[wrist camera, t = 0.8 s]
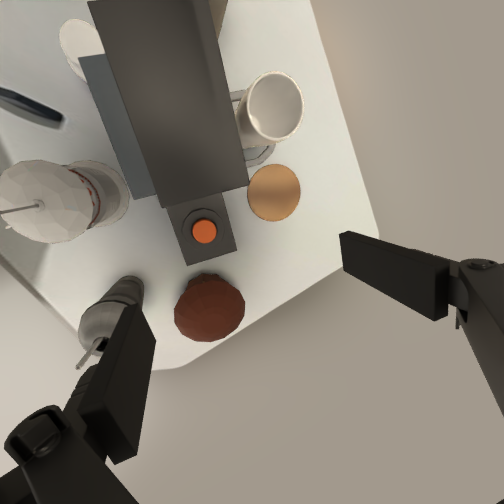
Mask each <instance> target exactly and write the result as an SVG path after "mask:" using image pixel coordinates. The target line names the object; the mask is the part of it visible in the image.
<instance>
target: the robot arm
mask: <svg viewBox="0 0 504 504" xmlns="http://www.w3.org/2000/svg"><path fill="white" fill-rule="evenodd" d="M339 238H340V246H341V254H342V262H343V269H344V271H345V272H347V273H349V274H350V275H352V276H354V277H356V278H357V279H359V280H361V281H363V282H365V283H366V284H368V285H370V286H372V287H374V288H375V289H377V290H379V291H381V292H383V293H384V294H386V295H388V296H390V297H391V298H393V299H395V300H397V301H398V302H400V303H402V304H404V305H406V306H407V307H409V308H411V309H413V310H415V311H416V312H418V313H420V314H422V315H423V316H425V317H427V318H429V319H431V320H432V321H437V320H439V319H441V318H444V317H446V316H448V304H450V305H453V306H455V307H457V309H456V329H459V326H460V325H461V326H462V328H463V330H464V332H465V335H466V337H467V339H468V341H469V343H470V345H471V347H472V350H473V352H474V354H475V356H476V358H477V360H478V363H479V365H480V367H481V369H482V371H483V373H484V375H485V378H486V380H487V382H488V384H489V386H490V388H491V390H492V393H493V395H494V397H495V399H496V401H497V403H498V406H499V408H500V410H501V412H502V414H503V416H504V263H503V264H498V263H497V262H494V261H491V260H486V259H466V260H463V261H461V262H457V261H453V260H450V259H446V258H443V257H440V256H436V255H433V254H430V253H425V252H423V251H419V250H416V249H408V248H405V247H402V246H398V245H395V244H392V243H388V242H385V241H382V240H378V239H375V238H372V237H368V236H365V235H362V234H358V233H355V232H352V231H346V232H344V233H341V234H339ZM155 344H156V339H155V337H154V335H153V333H152V331H151V329H150V327H149V325H148V322H147V320H146V318H145V316H144V314H143V312H142V310H141V308H140V305H139V303H135V304H132V305H129V306H127V307H124V309H123V311H122V313H121V315H120V318H119V320H118V322H117V324H116V326H115V328H114V331H113V333H112V335H111V337H110V339H109V341H108V343H107V346H106V348H105V350H104V352H103V354H102V356H101V359H100V361H99V363H98V364H95V365H93V366H90V367H89V368H88V369H87V370H86V372H85V373H84V374H83V375H82V376H81V377H80V379H79V381H78V383H77V385H76V387H75V390H74V391H73V392H72V395H71V398H70V399H69V400H68V402H67V404H66V406H65V408H64V410H63V412H62V411H61V409H60V408H59V407H58V406H56V405H50V406H46V407H44V408H42V409H39V410H37V411H36V412H34V413H33V414H31V415H30V416H28V417H27V418H26V419H24V420H23V421H22V422H21V423H20V424H18V426H16V428H15V429H14V430H13V431H12V432H11V433H10V434H9V436H8V438H7V439H6V441H5V443H4V449H5V451H6V452H7V453H8V454H9V455H10V456H11V457H12V458H13V459H14V460H15V461H16V463H17V464H18V465H19V466H17V467H16V468H14V469H13V470H11V471H10V472H8V473H7V474H5V475H3V476H2V477H0V504H139V503H138V502H137V501H136V500H135V499H134V497H133V496H132V495H131V494H130V493H129V492H128V490H127V489H126V488H125V487H124V486H123V484H122V483H121V482H120V481H119V480H118V479H117V477H116V476H115V475H114V474H113V473H112V472H111V470H110V469H109V468H108V467H107V466H106V464H105V461H106V458H107V455H108V456H109V458H110V459H111V461H112V462H113V464H114V465H116V464H118V463H120V462H123V461H125V460H127V459H129V458H132V457H134V456H136V455H137V452H138V446H139V440H140V434H141V428H142V422H143V415H144V410H145V404H146V398H147V392H148V386H149V380H150V374H151V368H152V362H153V356H154V350H155ZM497 504H504V499H503V500H501V501H500V502H498V503H497Z"/></svg>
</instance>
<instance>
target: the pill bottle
mask: <svg viewBox="0 0 504 504" xmlns="http://www.w3.org/2000/svg"><path fill="white" fill-rule="evenodd" d="M59 40H60V44H61V47H62V49H63V51H64V52H65V56H66V59H67V61H68V63H69V65H70V67H71V68H72V70H73V71H74V72H75V73H76V74H77V75H78V76H79V77H80V78H81V79H82V80H83V81H84V82H85V83H86V84H88V83H87V81H86V78H85V76H84V73H83V71H82V68H81V66H80V63H79V61H78V57H84V56H91V55H98V54H104V53H105V51H104V48H103V45H102V42H101V40H100V37H99V34H98V31H97V29H95V28H94V27H93V26H92V25H91V24H89V23H87V22H85V21H83V20H80V19H71V20H68V21H66V22H65V23H64V24H63V25H62V27H61V29H60V32H59Z"/></svg>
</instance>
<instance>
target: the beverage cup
mask: <svg viewBox="0 0 504 504" xmlns="http://www.w3.org/2000/svg"><path fill="white" fill-rule="evenodd" d="M143 297H144V285H143V283H142V281H141V280H140V279H138V278H136V277H133V276H126V277H123V278H121V279H120V280H119V281H118V282H116V283H115V284H114V285H113V286H112V287H111V288H110V290H109V291H108V292H107V293H106V294H105V295H104V296H103V297H102V298H101V299H100V300H99V301H98V302H96V303H95V304H93V305H92V306H91V307H89V308H88V309H87V310H86V311H85V312H84V314H83V315H82V317H81V321H80V325H79V328H78V337H79V342H80V344H81V345H82V347H83V348H84V349H85V350H86V351H87V353H86V354H85V355H84V356H83V358H82V359H81V360H80V362H79V363H78V364H77V365H76V367H75V369H76V370H80V369H81V368H82V366H83V365H84V363H85V362H86V361H87V360H88V358H89V357H90V356H91V354H92V355H94V356H97V357H101V356H102V354H103V352H104V350H105V348H106V346H107V343H108V341H109V339H110V337H111V335H112V333H113V331H114V328H115V326H116V324H117V322H118V320H119V318H120V315H121V313H122V311H123V309H124V307H127V306H129V305H132V304H135V303H139V305H140V308H141V310H142V305H143Z"/></svg>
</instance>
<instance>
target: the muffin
mask: <svg viewBox="0 0 504 504" xmlns="http://www.w3.org/2000/svg"><path fill="white" fill-rule="evenodd" d="M244 314H245V301H244V299H243V297H242V295H241V293H240V291H239V290H238V289H236V288H235V287H233V286H232V285H230V284H229V283H228V282H226V281H225V280H223V279H222V278H221V277H220V276H219V275H217V274H201V275H199V276H198V277H197V278H195V279H193V280H191V281H189V283H188V286H187V289H186V290H185V292H184V294H182V295H181V297H180V299H179V301H178V303H177V304H176V306H175V308H174V322H175V324H176V326H177V327H178V329H179V330H180V332H181V333H182V335H184V336H186V337H188V338H190V339H192V340H194V341H199V342H213V341H216V340H219V339H222V338H225V337H226V336H227V335H229V334H230V333H231V332H233V331H234V330H235V329H236V328H238V326H239V324H240V322H241V321H242V319H243V317H244Z"/></svg>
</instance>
